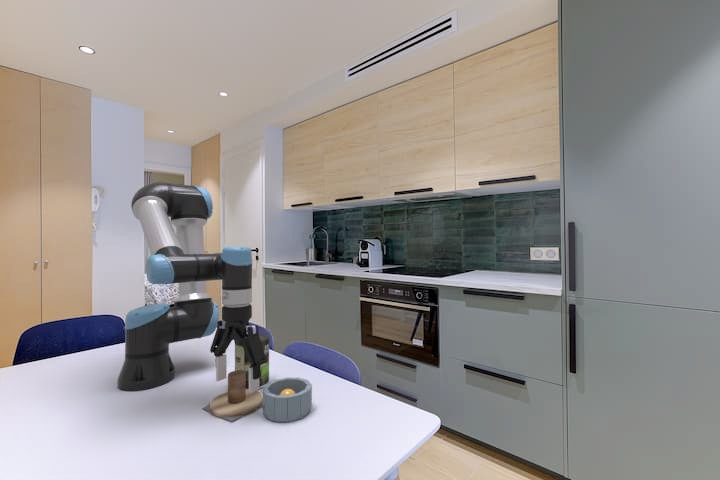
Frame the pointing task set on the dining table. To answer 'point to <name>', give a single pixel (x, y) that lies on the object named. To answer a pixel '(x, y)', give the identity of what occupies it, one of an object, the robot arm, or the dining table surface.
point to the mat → (230, 419)
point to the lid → (236, 398)
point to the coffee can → (244, 363)
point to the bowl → (287, 399)
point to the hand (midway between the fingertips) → (237, 385)
